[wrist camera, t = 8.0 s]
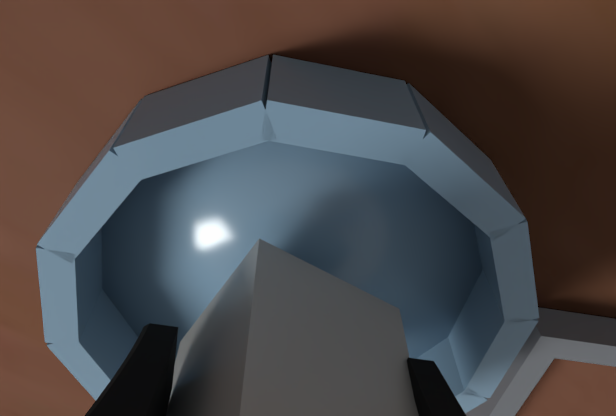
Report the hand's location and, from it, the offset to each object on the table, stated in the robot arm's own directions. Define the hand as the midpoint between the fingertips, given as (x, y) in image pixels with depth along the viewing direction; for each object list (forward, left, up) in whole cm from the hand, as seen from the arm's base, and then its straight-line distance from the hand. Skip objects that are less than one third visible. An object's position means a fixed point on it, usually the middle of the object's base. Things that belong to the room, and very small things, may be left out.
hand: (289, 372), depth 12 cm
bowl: (0, 0, -4) cm, 4 cm away
